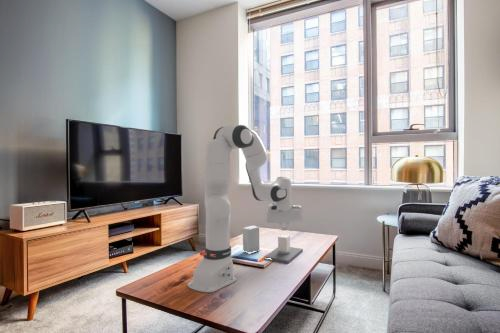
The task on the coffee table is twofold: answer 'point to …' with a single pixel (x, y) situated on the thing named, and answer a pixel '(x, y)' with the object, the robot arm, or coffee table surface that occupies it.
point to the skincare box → (251, 238)
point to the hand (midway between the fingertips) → (283, 230)
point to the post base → (284, 255)
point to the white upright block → (284, 243)
